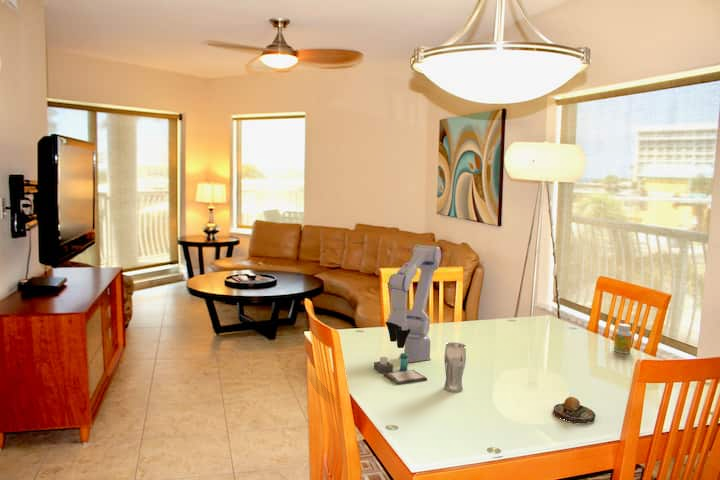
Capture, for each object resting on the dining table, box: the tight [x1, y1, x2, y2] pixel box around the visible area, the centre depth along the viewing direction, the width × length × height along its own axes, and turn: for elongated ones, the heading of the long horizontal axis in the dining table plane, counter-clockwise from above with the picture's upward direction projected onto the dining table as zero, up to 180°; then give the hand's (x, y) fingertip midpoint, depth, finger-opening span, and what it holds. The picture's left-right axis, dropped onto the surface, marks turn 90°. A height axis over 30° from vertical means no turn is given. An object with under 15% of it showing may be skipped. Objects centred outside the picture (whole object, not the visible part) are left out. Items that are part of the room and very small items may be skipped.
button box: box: [373, 360, 394, 375], centre depth 209 cm, size 5×5×3 cm
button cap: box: [379, 356, 389, 366], centre depth 209 cm, size 3×3×3 cm
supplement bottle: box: [613, 323, 633, 354], centre depth 242 cm, size 6×6×11 cm
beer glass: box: [443, 342, 467, 393], centre depth 193 cm, size 7×7×15 cm
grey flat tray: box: [383, 369, 428, 386], centre depth 202 cm, size 12×9×1 cm
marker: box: [399, 352, 409, 372], centre depth 209 cm, size 3×3×6 cm
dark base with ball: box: [552, 396, 596, 424], centre depth 175 cm, size 12×12×8 cm
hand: (396, 344), depth 209 cm, fingers open, 7 cm apart
